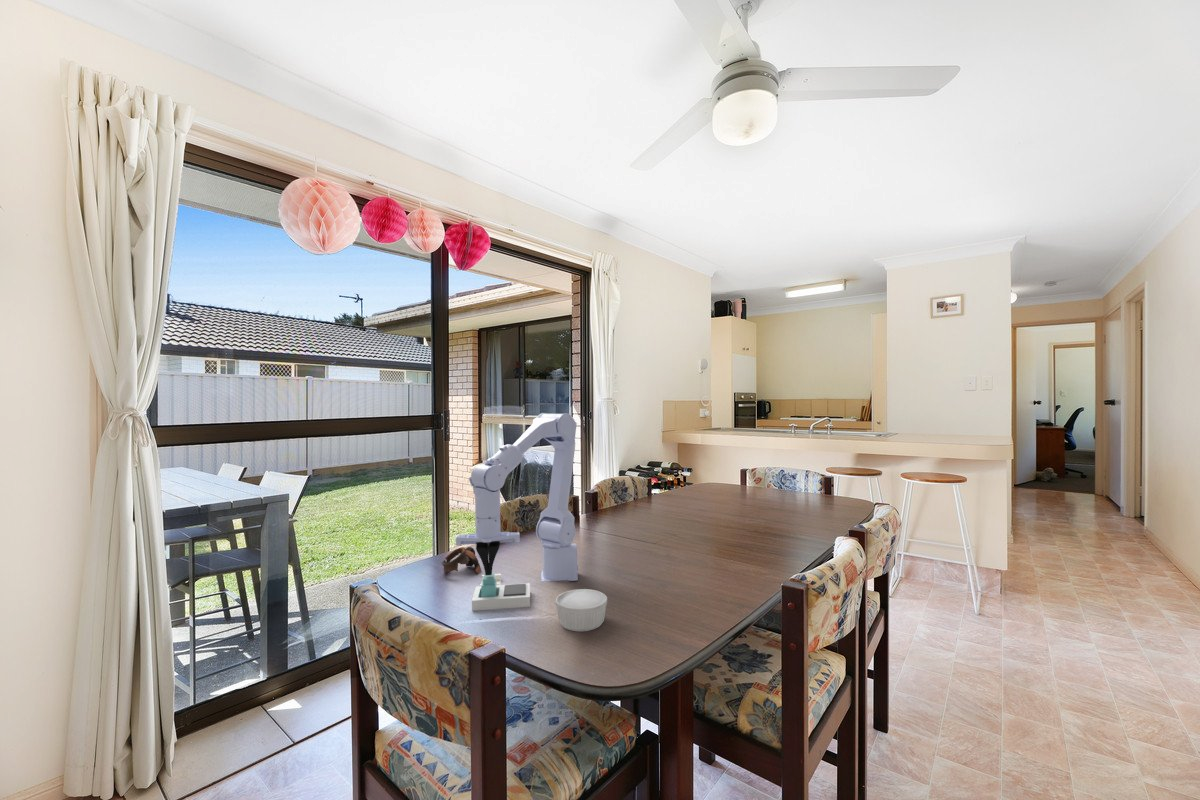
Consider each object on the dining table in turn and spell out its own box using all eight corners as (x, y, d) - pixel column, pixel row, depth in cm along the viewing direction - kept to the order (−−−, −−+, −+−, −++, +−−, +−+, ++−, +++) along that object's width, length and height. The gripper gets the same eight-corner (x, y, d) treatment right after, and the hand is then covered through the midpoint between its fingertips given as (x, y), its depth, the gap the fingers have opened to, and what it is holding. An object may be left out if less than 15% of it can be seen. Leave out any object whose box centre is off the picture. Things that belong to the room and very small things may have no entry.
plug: (496, 599, 122) (496, 572, 122) (495, 607, 118) (495, 579, 118) (483, 600, 122) (482, 573, 122) (481, 608, 117) (481, 580, 117)
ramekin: (558, 611, 115) (558, 588, 115) (608, 611, 115) (607, 588, 115) (552, 634, 104) (552, 609, 104) (607, 634, 104) (606, 609, 104)
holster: (501, 580, 135) (501, 573, 135) (499, 592, 127) (499, 584, 127) (482, 581, 134) (482, 574, 134) (479, 593, 126) (479, 585, 126)
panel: (530, 594, 125) (529, 581, 125) (530, 608, 117) (529, 595, 117) (476, 598, 123) (475, 584, 123) (472, 613, 115) (471, 599, 115)
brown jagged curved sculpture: (479, 581, 136) (462, 557, 134) (449, 595, 137) (433, 572, 135) (490, 556, 147) (475, 533, 146) (462, 569, 149) (447, 547, 147)
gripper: (453, 521, 114) (454, 581, 115) (518, 518, 116) (519, 577, 116) (457, 514, 121) (458, 571, 121) (519, 511, 123) (520, 567, 123)
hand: (488, 573), depth 119 cm, fingers closed
